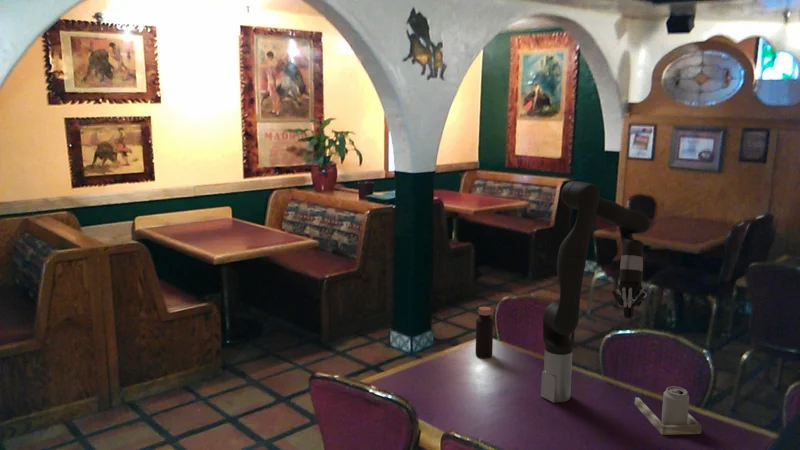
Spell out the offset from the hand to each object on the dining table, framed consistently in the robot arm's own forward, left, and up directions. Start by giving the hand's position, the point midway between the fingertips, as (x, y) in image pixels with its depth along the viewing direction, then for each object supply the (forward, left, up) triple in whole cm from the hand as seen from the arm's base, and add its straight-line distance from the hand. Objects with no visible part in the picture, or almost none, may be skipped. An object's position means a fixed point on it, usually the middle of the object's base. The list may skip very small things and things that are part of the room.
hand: (628, 318), depth 222 cm
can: (-9, -26, -26) cm, 38 cm away
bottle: (-22, +51, -26) cm, 61 cm away
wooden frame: (-7, -22, -26) cm, 35 cm away
